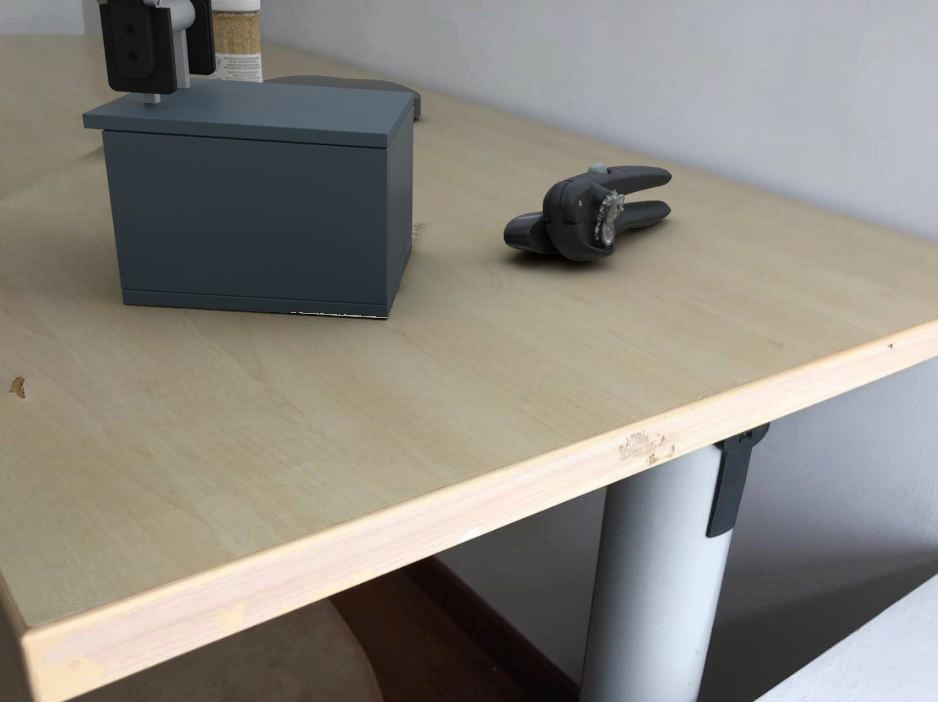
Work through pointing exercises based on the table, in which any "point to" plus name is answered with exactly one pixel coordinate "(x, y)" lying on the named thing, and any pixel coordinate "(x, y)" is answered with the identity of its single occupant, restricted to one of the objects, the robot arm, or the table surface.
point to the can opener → (589, 212)
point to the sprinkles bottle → (237, 40)
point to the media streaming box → (349, 85)
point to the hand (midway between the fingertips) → (166, 78)
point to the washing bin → (260, 222)
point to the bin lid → (254, 106)
